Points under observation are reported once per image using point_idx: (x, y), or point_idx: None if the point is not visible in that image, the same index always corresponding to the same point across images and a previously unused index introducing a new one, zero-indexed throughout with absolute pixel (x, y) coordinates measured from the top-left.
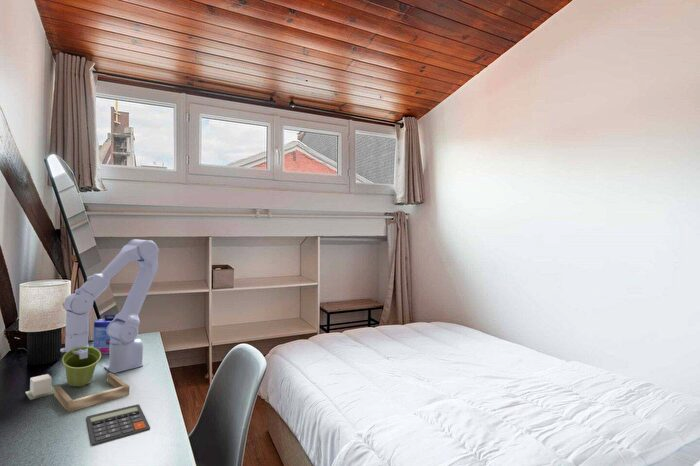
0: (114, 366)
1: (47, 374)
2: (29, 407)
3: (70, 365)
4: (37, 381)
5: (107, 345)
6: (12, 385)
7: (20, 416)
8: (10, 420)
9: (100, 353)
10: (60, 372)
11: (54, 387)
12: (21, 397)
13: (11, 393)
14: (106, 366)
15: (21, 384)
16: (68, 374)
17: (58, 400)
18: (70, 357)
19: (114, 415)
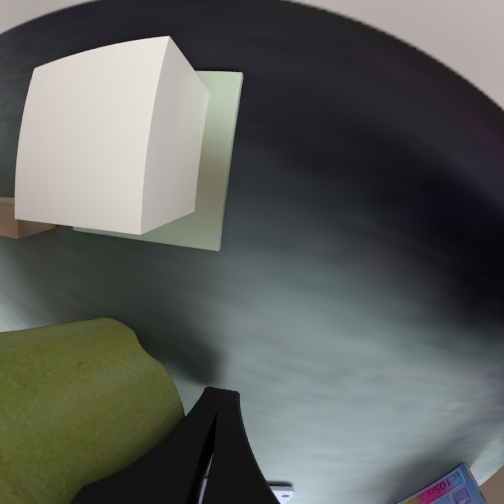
0: (200, 500)
1: (124, 222)
2: (29, 82)
3: (95, 441)
4: (29, 97)
5: None
6: (467, 107)
7: (2, 62)
8: (6, 39)
9: None
10: (439, 368)
11: (13, 206)
12: (182, 48)
13: (324, 31)
14: (276, 492)
15: (451, 141)
16: (6, 332)
17: (1, 197)
18: (29, 495)
19: None
